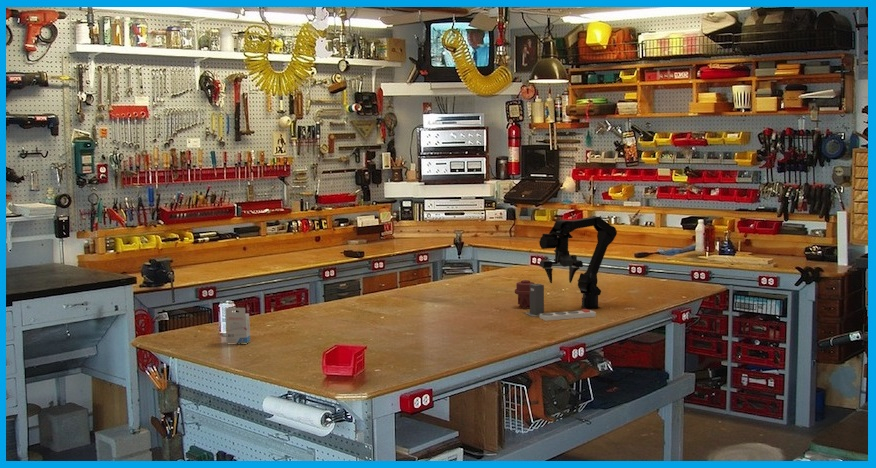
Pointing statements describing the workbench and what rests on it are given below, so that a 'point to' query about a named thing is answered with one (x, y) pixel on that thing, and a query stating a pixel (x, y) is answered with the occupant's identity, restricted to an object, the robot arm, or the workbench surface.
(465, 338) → the workbench surface
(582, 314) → the power strip
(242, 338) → the ink box
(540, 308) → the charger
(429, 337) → the workbench surface
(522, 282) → the mechanical component
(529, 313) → the mat
